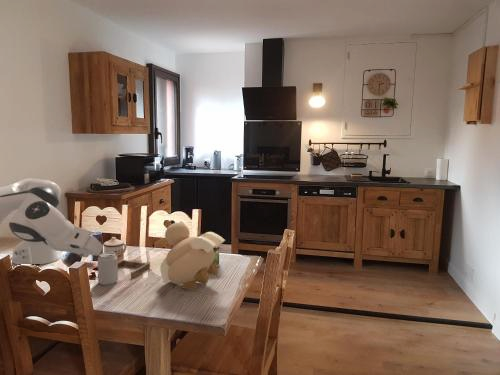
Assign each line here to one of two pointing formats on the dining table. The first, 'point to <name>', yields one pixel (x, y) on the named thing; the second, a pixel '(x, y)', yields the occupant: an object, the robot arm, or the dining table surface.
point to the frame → (140, 265)
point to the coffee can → (216, 251)
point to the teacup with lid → (115, 248)
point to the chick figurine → (189, 256)
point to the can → (107, 268)
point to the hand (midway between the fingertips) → (85, 255)
